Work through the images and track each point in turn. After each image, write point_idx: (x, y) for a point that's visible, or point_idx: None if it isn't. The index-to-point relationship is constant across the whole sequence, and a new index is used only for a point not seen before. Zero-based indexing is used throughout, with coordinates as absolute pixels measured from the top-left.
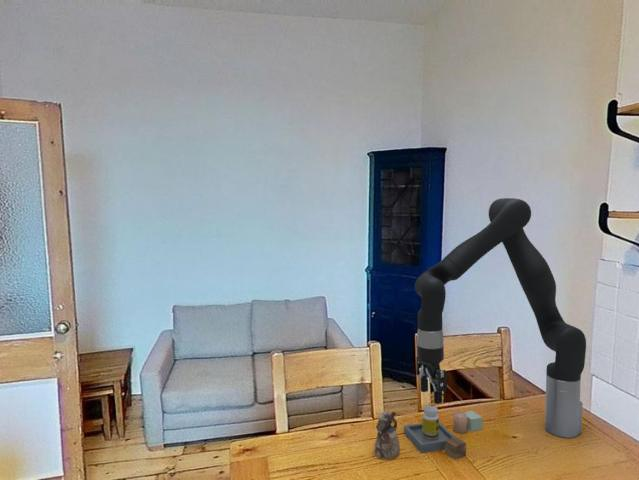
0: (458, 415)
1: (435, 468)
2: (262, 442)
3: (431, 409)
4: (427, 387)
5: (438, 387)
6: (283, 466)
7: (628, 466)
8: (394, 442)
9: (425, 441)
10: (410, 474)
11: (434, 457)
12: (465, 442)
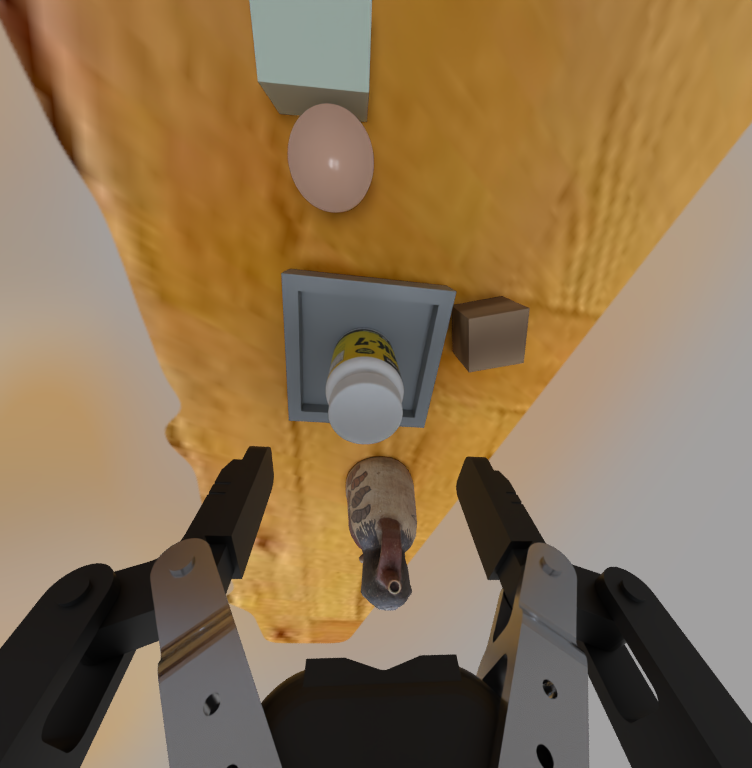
0: (336, 180)
1: (496, 414)
2: (261, 622)
3: (375, 417)
4: (261, 471)
5: (617, 667)
6: (349, 609)
7: None
8: (415, 510)
9: None
10: None
11: (454, 390)
12: (528, 310)
